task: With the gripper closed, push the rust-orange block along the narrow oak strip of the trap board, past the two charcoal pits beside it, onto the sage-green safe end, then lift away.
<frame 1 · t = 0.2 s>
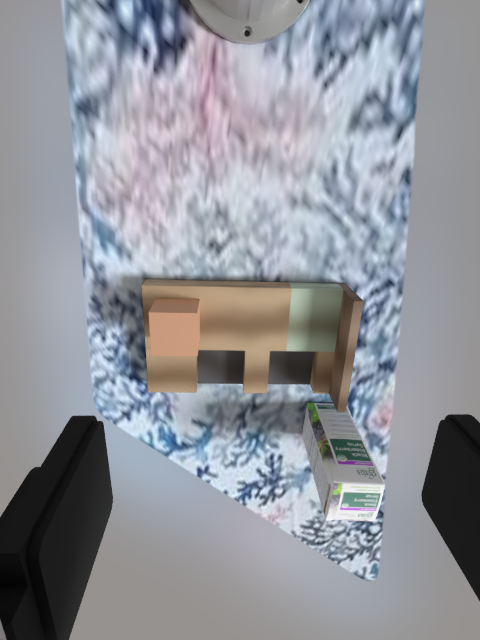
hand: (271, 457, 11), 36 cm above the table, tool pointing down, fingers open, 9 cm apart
orange block: (178, 318, 45), point 2 cm above the table, touching trap board
trap board: (244, 341, 49), on the table
syrup box: (323, 418, 55), on the table
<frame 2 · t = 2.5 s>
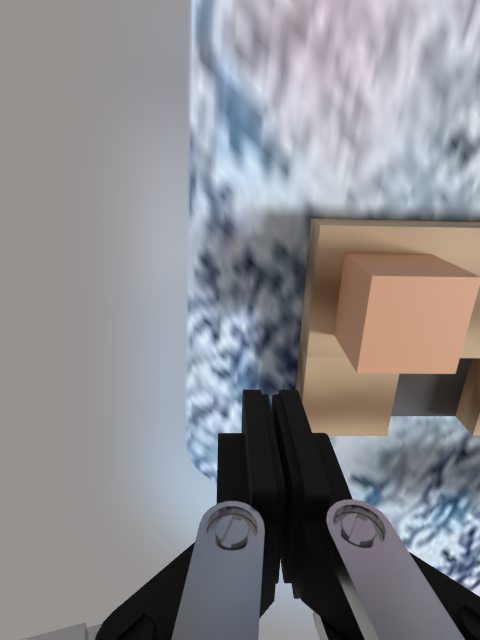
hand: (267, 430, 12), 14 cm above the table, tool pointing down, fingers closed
orange block: (381, 296, 23), point 2 cm above the table, touching trap board
trap board: (473, 341, 27), on the table
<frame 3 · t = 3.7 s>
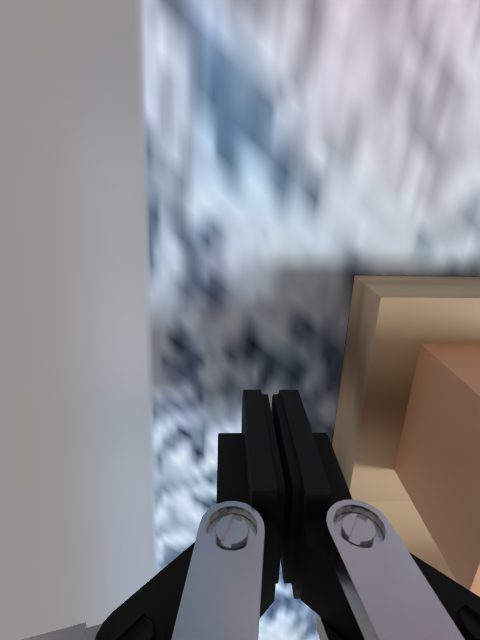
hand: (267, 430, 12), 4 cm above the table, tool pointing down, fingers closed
orange block: (478, 410, 13), point 2 cm above the table, touching trap board
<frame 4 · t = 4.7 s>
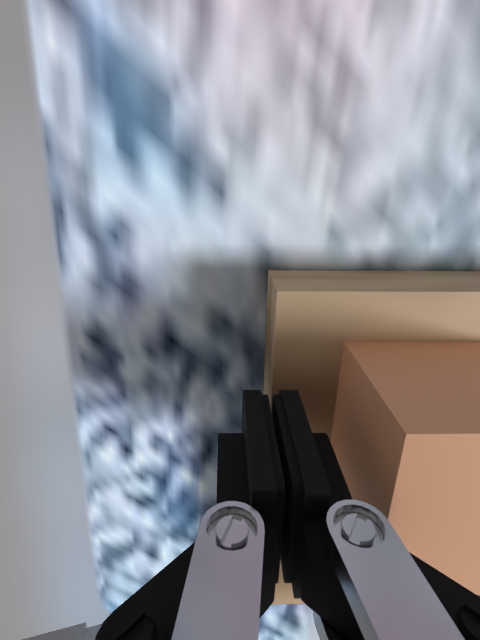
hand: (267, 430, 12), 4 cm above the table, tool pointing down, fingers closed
orange block: (408, 408, 13), point 3 cm above the table, touching gripper
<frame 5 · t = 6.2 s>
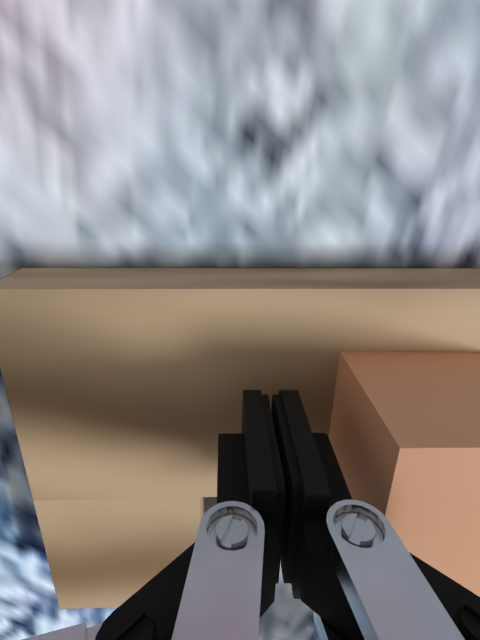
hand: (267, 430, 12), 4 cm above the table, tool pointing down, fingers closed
orange block: (403, 417, 13), point 3 cm above the table, touching gripper
trap board: (341, 448, 17), on the table
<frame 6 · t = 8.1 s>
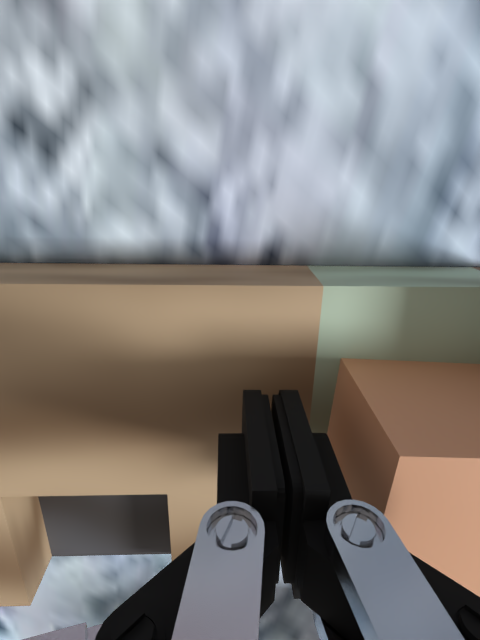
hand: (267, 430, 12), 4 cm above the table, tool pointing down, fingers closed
orange block: (399, 425, 13), point 2 cm above the table, touching gripper, trap board
trap board: (175, 448, 17), on the table
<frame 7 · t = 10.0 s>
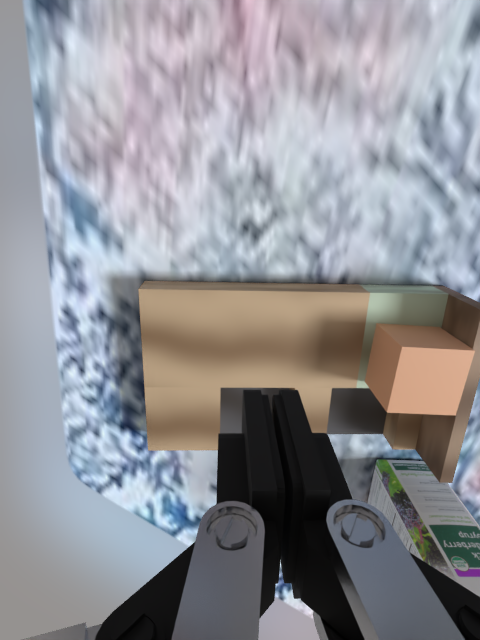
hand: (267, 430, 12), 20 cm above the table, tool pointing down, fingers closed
orange block: (401, 354, 31), point 2 cm above the table, touching trap board
trap board: (290, 373, 34), on the table
syrup box: (397, 481, 38), on the table
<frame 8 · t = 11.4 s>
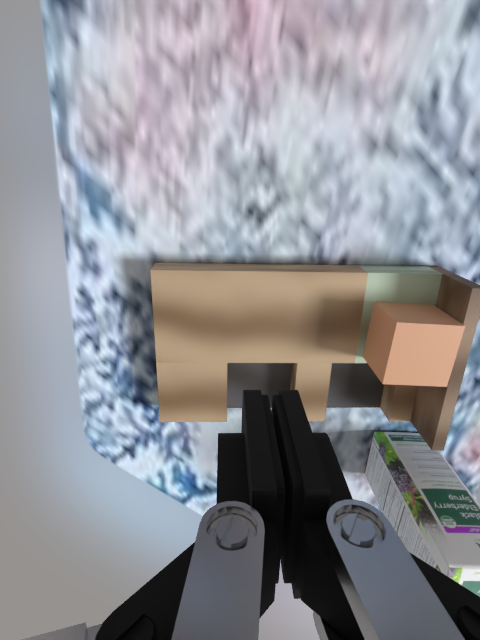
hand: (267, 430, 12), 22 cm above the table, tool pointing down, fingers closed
orange block: (397, 331, 33), point 2 cm above the table, touching trap board
trap board: (292, 350, 36), on the table
syrup box: (393, 452, 41), on the table
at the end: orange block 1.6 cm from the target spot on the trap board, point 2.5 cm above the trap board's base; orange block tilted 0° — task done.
